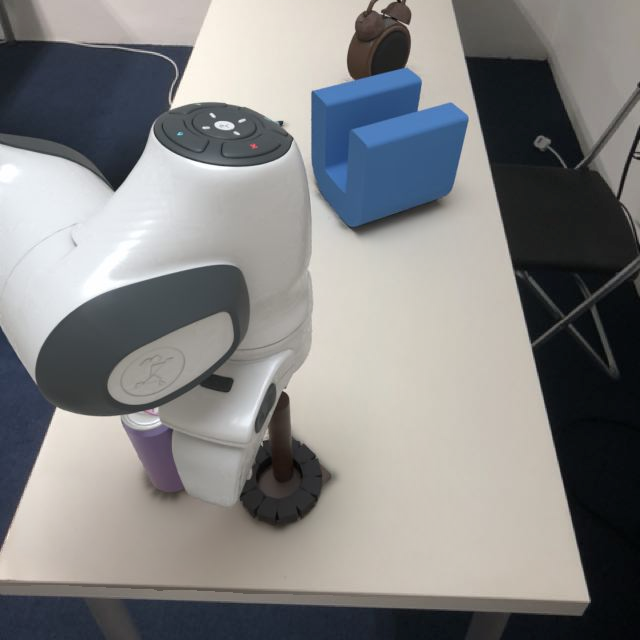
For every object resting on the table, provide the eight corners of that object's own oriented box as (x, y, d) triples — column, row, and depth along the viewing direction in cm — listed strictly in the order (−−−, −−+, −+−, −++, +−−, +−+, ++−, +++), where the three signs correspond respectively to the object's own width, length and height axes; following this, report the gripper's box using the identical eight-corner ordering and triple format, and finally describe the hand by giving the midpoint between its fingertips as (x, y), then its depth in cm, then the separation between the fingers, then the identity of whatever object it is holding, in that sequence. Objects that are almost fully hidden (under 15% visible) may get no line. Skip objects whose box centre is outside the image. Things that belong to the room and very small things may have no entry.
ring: (276, 543, 62) (275, 535, 60) (221, 482, 66) (219, 474, 64) (338, 484, 66) (339, 476, 64) (283, 431, 70) (282, 422, 69)
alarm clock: (365, 107, 122) (373, 8, 107) (342, 94, 126) (347, -3, 111) (411, 85, 129) (424, -11, 114) (388, 73, 132) (398, -21, 117)
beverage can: (186, 501, 66) (159, 438, 54) (140, 485, 67) (105, 420, 55) (209, 456, 69) (188, 389, 58) (165, 442, 70) (137, 373, 59)
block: (447, 210, 100) (469, 116, 87) (359, 240, 95) (367, 146, 81) (393, 157, 111) (405, 66, 97) (311, 182, 105) (311, 89, 91)
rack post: (280, 523, 64) (272, 453, 51) (236, 475, 68) (218, 398, 55) (331, 478, 68) (335, 401, 55) (286, 434, 71) (281, 353, 58)
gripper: (259, 226, 48) (269, 330, 58) (143, 434, 35) (182, 519, 45) (332, 240, 46) (328, 344, 57) (239, 462, 34) (256, 542, 44)
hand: (263, 423), depth 51 cm, fingers open, 8 cm apart
